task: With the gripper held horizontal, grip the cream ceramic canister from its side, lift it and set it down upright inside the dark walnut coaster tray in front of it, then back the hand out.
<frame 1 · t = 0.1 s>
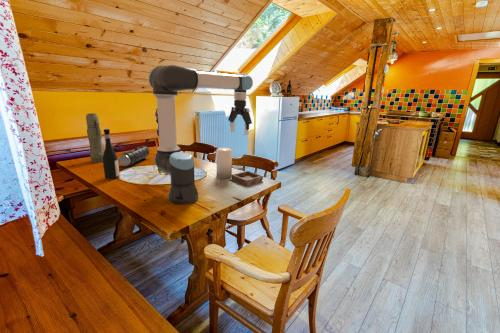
hand: (239, 133, 165), 28 cm above the table, tool pointing down, fingers open, 13 cm apart
wine bottle: (112, 178, 157), on the table
ceramic canister: (224, 175, 168), on the table
muzzle brake: (135, 163, 190), on the table
coaster tray: (247, 180, 161), on the table
grey stone pillar: (98, 161, 190), on the table
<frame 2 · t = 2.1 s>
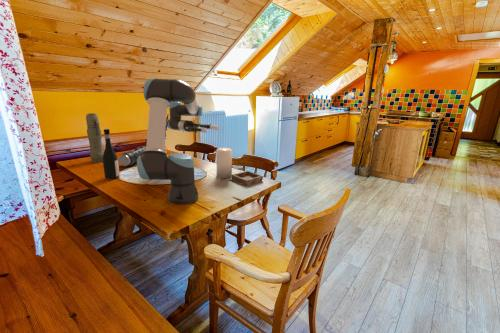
hand: (212, 129, 164), 30 cm above the table, tool horizontal, fingers open, 13 cm apart
nothing on the table moved.
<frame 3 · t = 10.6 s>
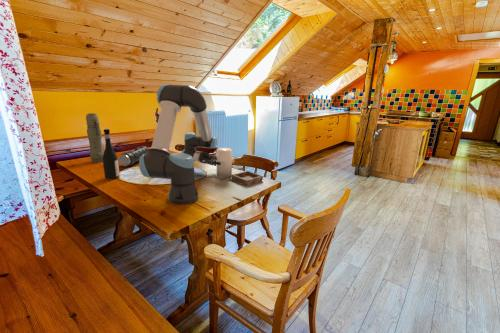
hand: (229, 162, 164), 10 cm above the table, tool horizontal, fingers closed on ceramic canister, 10 cm apart
ceramic canister: (224, 175, 168), on the table, touching gripper
everything else where it was.
when the fingers open (12 cm above the table, at t = 21.3 s): ceramic canister stays where it is, resting on coaster tray.
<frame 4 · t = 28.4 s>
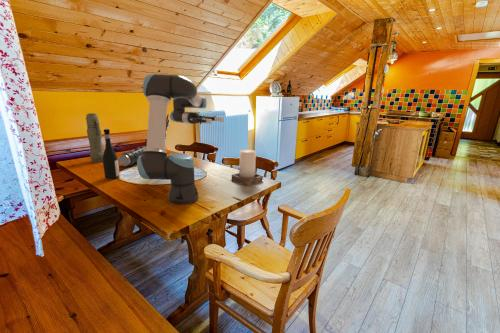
hand: (217, 120, 160), 36 cm above the table, tool horizontal, fingers open, 13 cm apart
ceramic canister: (247, 178, 161), point 1 cm above the table, touching coaster tray
everything else where it was.
at the end: ceramic canister 0.1 cm off-centre on the coaster tray, point 1.1 cm above the coaster tray's base; ceramic canister tilted 1°; the gripper is holding nothing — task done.
